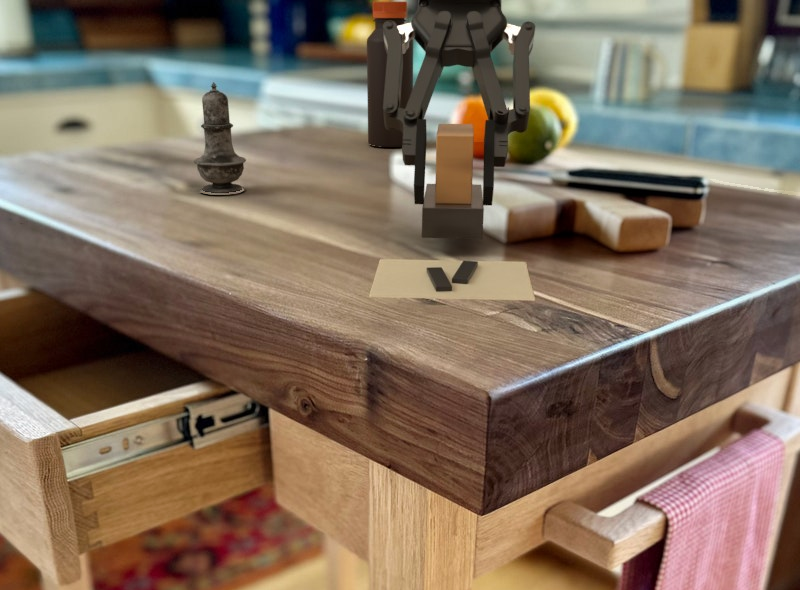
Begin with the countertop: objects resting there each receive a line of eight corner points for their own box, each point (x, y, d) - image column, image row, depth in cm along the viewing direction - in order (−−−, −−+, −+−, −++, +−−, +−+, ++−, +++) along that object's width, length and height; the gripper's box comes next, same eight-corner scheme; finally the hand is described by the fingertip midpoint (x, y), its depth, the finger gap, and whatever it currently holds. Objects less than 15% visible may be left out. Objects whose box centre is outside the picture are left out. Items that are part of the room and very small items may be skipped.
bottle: (411, 149, 130) (412, 1, 122) (366, 148, 130) (363, 1, 122) (413, 142, 136) (414, 1, 128) (370, 141, 136) (368, 1, 128)
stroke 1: (426, 272, 68) (426, 267, 68) (441, 271, 68) (441, 267, 68) (436, 291, 64) (436, 286, 64) (452, 291, 64) (452, 286, 64)
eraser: (426, 210, 81) (427, 121, 78) (480, 211, 81) (484, 121, 77) (421, 237, 72) (423, 137, 69) (482, 239, 72) (486, 138, 68)
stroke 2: (463, 265, 70) (463, 260, 70) (477, 266, 70) (478, 261, 70) (451, 283, 66) (451, 278, 66) (467, 284, 65) (467, 279, 65)
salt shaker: (223, 184, 105) (214, 78, 100) (258, 190, 102) (251, 81, 97) (186, 192, 101) (175, 82, 96) (222, 198, 98) (212, 85, 93)
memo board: (525, 273, 72) (526, 261, 71) (534, 313, 63) (535, 300, 62) (380, 270, 72) (379, 258, 72) (368, 309, 63) (368, 296, 63)
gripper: (554, 8, 83) (558, 222, 75) (365, 7, 84) (348, 218, 76) (565, -58, 75) (570, 170, 68) (358, -58, 77) (339, 166, 69)
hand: (453, 195), depth 72 cm, fingers closed on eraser, 5 cm apart
